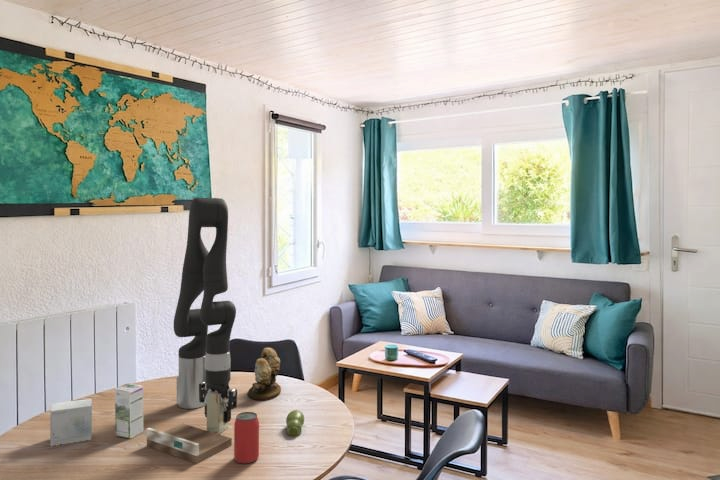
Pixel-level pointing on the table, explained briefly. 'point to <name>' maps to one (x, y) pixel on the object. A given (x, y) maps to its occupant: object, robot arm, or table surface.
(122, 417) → the syrup box
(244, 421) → the beer can
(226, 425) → the skincare box
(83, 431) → the skincare box
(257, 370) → the brown lumpy upright piece
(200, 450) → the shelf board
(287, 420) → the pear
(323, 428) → the table surface
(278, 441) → the table surface
